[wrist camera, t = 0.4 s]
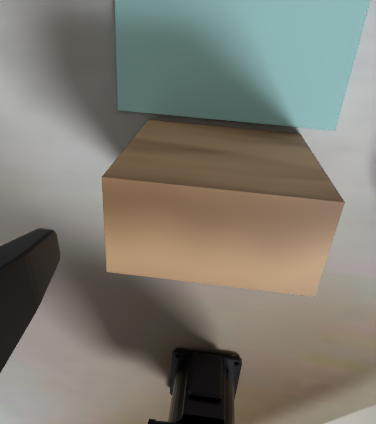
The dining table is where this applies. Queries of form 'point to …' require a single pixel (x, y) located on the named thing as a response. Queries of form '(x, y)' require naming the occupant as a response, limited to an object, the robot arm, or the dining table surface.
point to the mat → (238, 58)
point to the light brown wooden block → (220, 208)
